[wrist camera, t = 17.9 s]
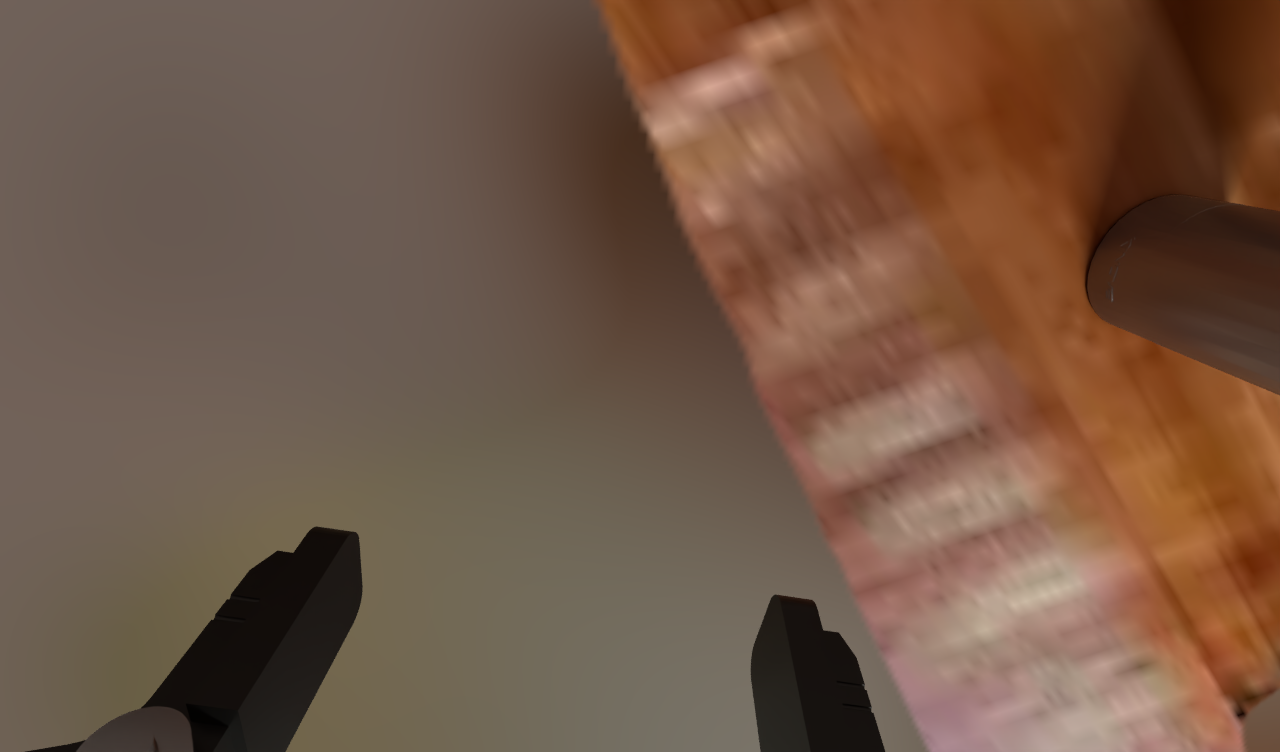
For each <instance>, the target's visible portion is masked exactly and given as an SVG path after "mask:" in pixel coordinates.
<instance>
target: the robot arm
mask: <svg viewBox="0 0 1280 752" xmlns="http://www.w3.org/2000/svg"><path fill="white" fill-rule="evenodd" d="M1087 290H1088V296H1089V301H1090V303H1091V305H1092V307H1093V309H1094V311H1095V312H1096V313H1097V314H1098V315H1099V316H1100V318H1101V319H1103V320H1104V321H1106V322H1108V323H1110V324H1112V325H1114V326H1116V327H1119V328H1121V329H1123V330H1126V331H1128V332H1131V333H1133V334H1135V335H1138V336H1140V337H1142V338H1145V339H1147V340H1150V341H1152V342H1154V343H1156V344H1158V345H1161V346H1163V347H1166V348H1168V349H1170V350H1173V351H1175V352H1177V353H1180V354H1182V355H1185V356H1187V357H1189V358H1192V359H1194V360H1197V361H1199V362H1201V363H1204V364H1206V365H1209V366H1211V367H1213V368H1216V369H1218V370H1220V371H1223V372H1225V373H1228V374H1230V375H1232V376H1235V377H1237V378H1240V379H1242V380H1244V381H1247V382H1249V383H1251V384H1254V385H1256V386H1259V387H1261V388H1263V389H1266V390H1268V391H1271V392H1273V393H1275V394H1278V395H1280V211H1275V210H1270V209H1264V208H1258V207H1252V206H1246V205H1241V204H1235V203H1229V202H1223V201H1217V200H1211V199H1205V198H1199V197H1193V196H1187V195H1168V196H1162V197H1158V198H1155V199H1152V200H1150V201H1147V202H1145V203H1143V204H1141V205H1140V206H1138V207H1136V208H1135V209H1133V210H1131V211H1130V212H1129V213H1127V214H1126V215H1125V216H1124V217H1123V218H1121V219H1120V220H1119V221H1118V222H1117V223H1116V224H1115V225H1114V226H1113V227H1112V229H1111V230H1110V231H1109V232H1108V233H1107V234H1106V236H1105V237H1104V239H1103V240H1102V242H1101V243H1100V245H1099V247H1098V248H1097V250H1096V253H1095V255H1094V257H1093V259H1092V262H1091V265H1090V269H1089V274H1088V284H1087ZM361 598H362V573H361V559H360V544H359V536H358V534H357V533H356V532H350V531H344V530H337V529H330V528H322V527H314V528H312V529H311V530H310V531H309V532H308V533H307V535H306V536H305V537H304V539H303V540H302V542H301V543H300V544H299V546H298V547H297V548H296V550H295V552H294V553H290V552H283V551H276V552H275V553H274V554H272V555H271V556H269V557H268V558H267V559H265V560H264V561H262V562H261V563H259V564H258V565H256V566H255V567H254V568H252V569H251V570H249V572H248V573H247V574H246V576H245V577H244V578H243V580H242V581H241V582H240V583H239V585H238V586H237V587H236V589H235V590H234V591H233V592H232V594H231V597H230V599H229V600H228V599H227V600H226V602H225V603H224V604H223V605H222V607H221V608H220V609H219V611H218V612H217V613H216V614H215V618H214V620H211V621H210V622H209V623H208V625H207V626H206V627H205V629H204V630H203V631H202V632H201V634H200V635H199V636H198V638H197V639H196V640H195V642H194V643H193V644H192V646H191V647H190V648H189V649H188V651H187V652H186V653H185V654H184V656H183V657H182V658H181V660H180V661H179V662H178V663H177V665H176V666H175V667H174V669H173V670H172V671H171V672H170V674H169V675H168V676H167V678H166V679H165V680H164V682H163V683H162V684H161V685H160V687H159V688H158V689H157V691H156V692H155V693H154V694H153V696H152V697H151V698H150V699H149V700H148V702H147V703H146V704H145V705H144V706H143V707H141V709H138V710H134V711H131V712H128V713H126V714H123V715H121V716H119V717H117V718H115V719H113V720H111V721H110V722H108V723H106V724H105V725H104V726H102V727H101V728H99V729H98V730H97V731H96V732H94V733H93V734H92V735H91V736H89V737H88V739H86V740H84V741H81V742H77V743H72V744H68V745H62V746H56V747H51V748H45V749H39V750H33V751H27V752H285V751H286V750H287V748H288V746H289V744H290V742H291V740H292V738H293V736H294V734H295V732H296V731H297V729H298V727H299V725H300V723H301V721H302V719H303V717H304V715H305V714H306V712H307V710H308V708H309V706H310V704H311V702H312V700H313V699H314V697H315V695H316V693H317V691H318V689H319V687H320V685H321V683H322V682H323V680H324V678H325V676H326V674H327V672H328V670H329V668H330V666H331V665H332V663H333V661H334V659H335V657H336V655H337V653H338V651H339V649H340V648H341V646H342V644H343V642H344V640H345V638H346V636H347V634H348V632H349V630H350V629H351V627H352V625H353V623H354V620H355V618H356V616H357V613H358V610H359V607H360V603H361ZM751 682H752V689H753V697H754V703H755V711H756V719H757V727H758V734H759V742H760V749H761V752H885V749H884V746H883V743H882V740H881V736H880V733H879V730H878V726H877V723H876V720H875V717H874V713H872V712H871V708H872V707H871V704H870V700H869V697H868V694H867V690H865V689H864V686H865V684H864V681H863V677H862V674H861V671H860V668H859V664H858V661H857V658H856V656H855V655H854V654H853V652H852V651H851V649H850V648H849V646H848V645H847V644H846V642H845V641H844V639H843V638H842V637H841V635H840V634H839V633H838V632H830V631H824V630H823V629H822V625H821V621H820V617H819V614H818V610H817V607H816V604H815V602H814V601H813V600H809V599H801V598H795V597H788V596H781V595H774V596H773V597H772V598H771V600H770V603H769V605H768V608H767V611H766V614H765V616H764V619H763V622H762V625H761V627H760V630H759V632H758V635H757V638H756V641H755V643H754V647H753V651H752V659H751Z"/></svg>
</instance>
